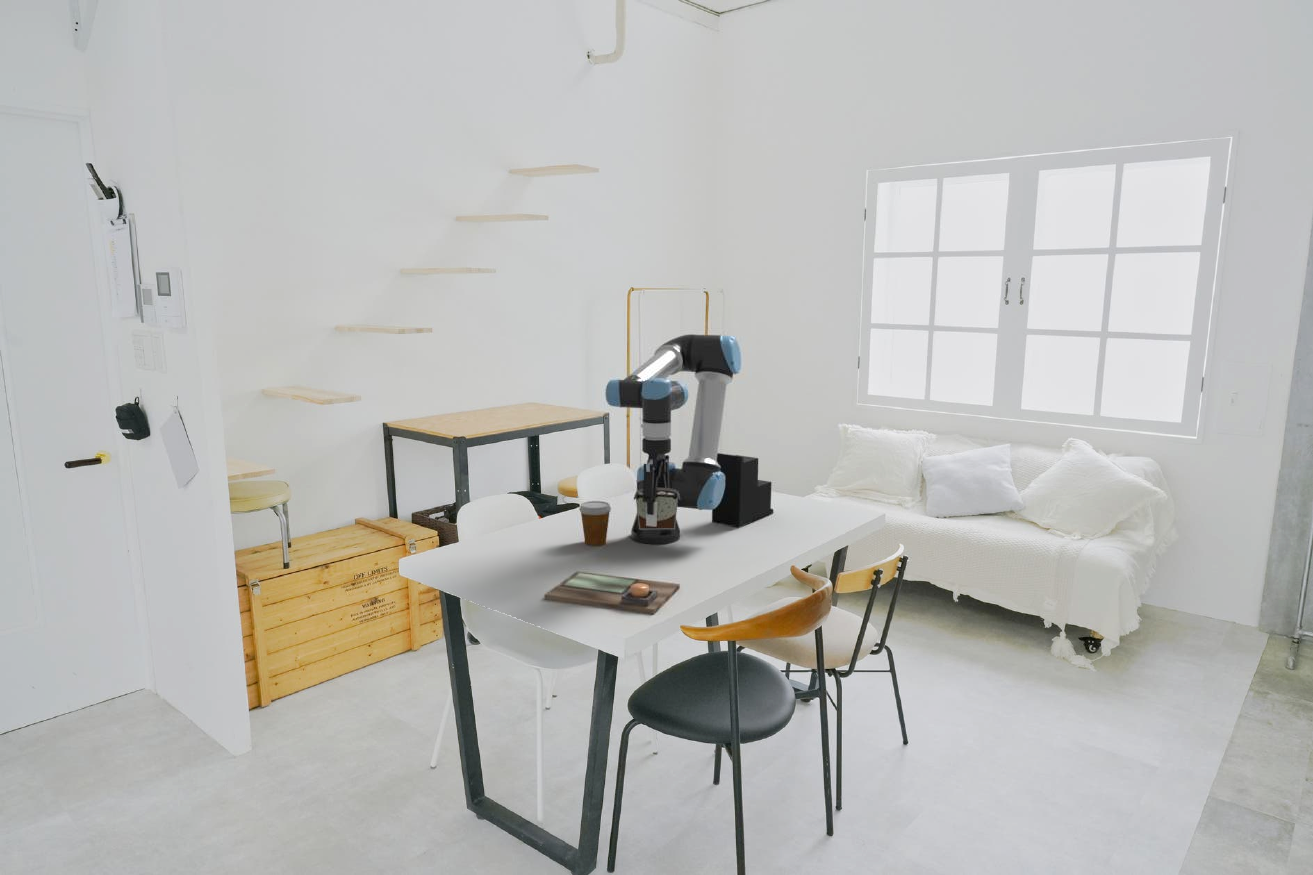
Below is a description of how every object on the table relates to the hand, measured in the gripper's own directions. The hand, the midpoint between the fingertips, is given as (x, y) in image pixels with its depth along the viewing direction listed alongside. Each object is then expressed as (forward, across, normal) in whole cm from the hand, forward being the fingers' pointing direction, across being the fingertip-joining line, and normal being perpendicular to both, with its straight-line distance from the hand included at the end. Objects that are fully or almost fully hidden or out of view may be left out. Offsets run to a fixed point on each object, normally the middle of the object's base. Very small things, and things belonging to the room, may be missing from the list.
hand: (656, 521), depth 234 cm
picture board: (+14, +18, -5) cm, 24 cm away
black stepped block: (+15, -64, +8) cm, 67 cm away
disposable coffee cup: (+15, -21, -27) cm, 37 cm away
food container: (+1, 0, 0) cm, 2 cm away
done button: (+12, +23, +4) cm, 26 cm away
